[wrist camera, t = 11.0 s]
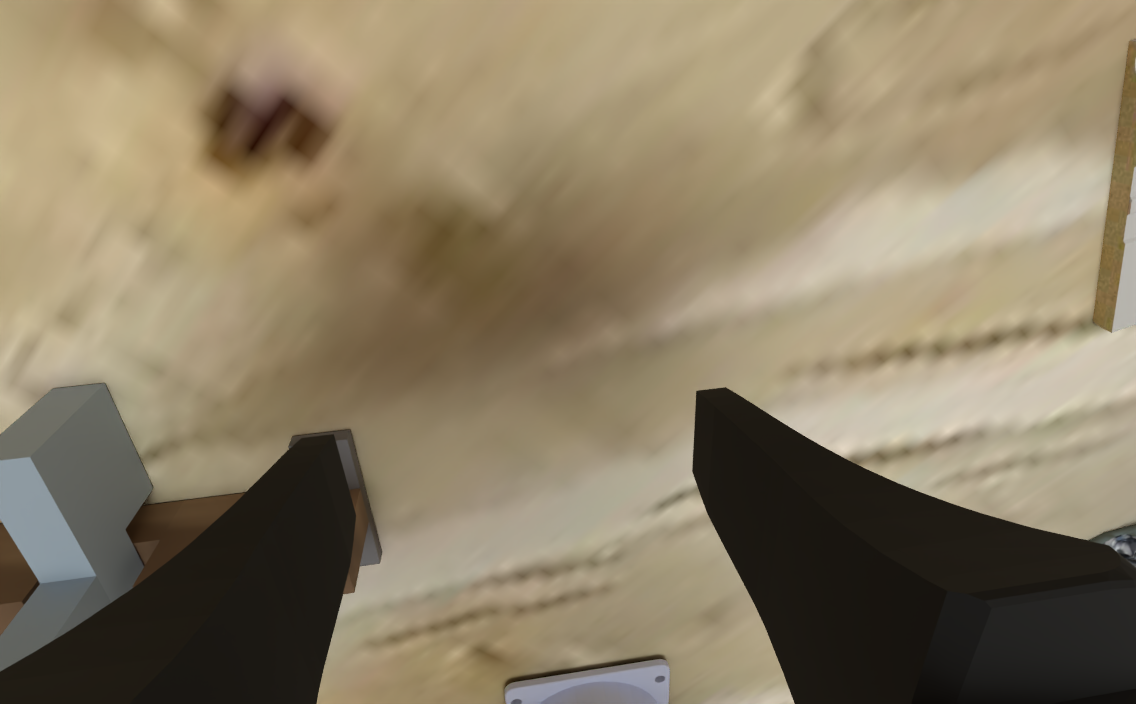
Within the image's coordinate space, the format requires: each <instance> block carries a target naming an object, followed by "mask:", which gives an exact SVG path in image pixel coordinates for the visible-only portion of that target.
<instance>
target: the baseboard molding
mask: <svg viewBox="0 0 1136 704" xmlns="http://www.w3.org/2000/svg"><path fill="white" fill-rule="evenodd" d="M1093 321H1094V322H1095V323H1096V324H1097V325H1098V326H1100V327H1101V328H1103V329H1105V330H1107V331H1109V332H1111V333H1112V332H1115V331H1118V330H1121V329H1124V328H1127V327H1130V326H1134V325H1136V39H1134V40H1131V41H1129V48H1128V55H1127V63H1126V71H1125V78H1124V86H1123V94H1122V101H1121V109H1120V117H1119V124H1118V132H1117V140H1116V147H1115V155H1114V163H1113V170H1112V178H1111V186H1110V193H1109V201H1108V209H1107V216H1106V224H1105V232H1104V240H1103V247H1102V255H1101V263H1100V270H1099V278H1098V286H1097V293H1096V301H1095V309H1094V316H1093Z"/></svg>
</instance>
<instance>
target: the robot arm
mask: <svg viewBox="0 0 1136 704" xmlns="http://www.w3.org/2000/svg"><path fill="white" fill-rule="evenodd" d="M692 471H693V474H694V477H695V480H696V483H697V486H698V489H699V492H700V495H701V497H702V500H703V503H704V505H705V508H706V511H707V513H708V515H709V517H710V519H711V521H712V523H713V525H714V527H715V529H716V531H717V533H718V535H719V537H720V539H721V541H722V543H723V545H724V547H725V549H726V551H727V553H728V554H729V556H730V558H731V560H732V562H733V564H734V566H735V568H736V570H737V572H738V574H739V575H740V577H741V579H742V581H743V583H744V585H745V587H746V589H747V591H748V593H749V595H750V596H751V598H752V600H753V602H754V604H755V606H756V608H757V610H758V613H759V615H760V617H761V619H762V621H763V623H764V625H765V628H766V630H767V633H768V635H769V638H770V640H771V643H772V646H773V648H774V651H775V653H776V656H777V658H778V661H779V663H780V666H781V668H782V671H783V673H784V676H785V679H786V681H787V684H788V687H789V689H790V692H791V695H792V697H793V700H794V703H795V704H1136V567H1135V566H1134V565H1132V564H1131V563H1130V562H1129V561H1127V560H1126V559H1125V558H1124V557H1123V556H1121V555H1120V554H1119V553H1118V552H1117V551H1115V550H1114V549H1113V548H1112V547H1110V546H1109V545H1105V544H1100V543H1096V542H1092V541H1087V540H1083V539H1078V538H1074V537H1070V536H1065V535H1061V534H1056V533H1052V532H1048V531H1043V530H1039V529H1035V528H1031V527H1027V526H1023V525H1020V524H1016V523H1013V522H1009V521H1006V520H1002V519H999V518H995V517H992V516H988V515H985V514H982V513H978V512H975V511H972V510H969V509H966V508H963V507H960V506H957V505H954V504H951V503H948V502H946V501H943V500H940V499H937V498H935V497H932V496H929V495H926V494H924V493H921V492H918V491H916V490H913V489H911V488H908V487H906V486H903V485H901V484H898V483H896V482H894V481H892V480H889V479H887V478H885V477H883V476H880V475H878V474H876V473H874V472H871V471H869V470H867V469H865V468H863V467H861V466H859V465H857V464H855V463H853V462H851V461H849V460H847V459H845V458H843V457H841V456H839V455H837V454H835V453H834V452H832V451H830V450H828V449H826V448H824V447H822V446H821V445H819V444H817V443H815V442H814V441H812V440H810V439H808V438H807V437H805V436H803V435H802V434H800V433H798V432H797V431H795V430H793V429H792V428H790V427H788V426H787V425H785V424H784V423H782V422H780V421H779V420H777V419H776V418H774V417H772V416H771V415H769V414H768V413H766V412H765V411H763V410H761V409H760V408H758V407H757V406H755V405H754V404H752V403H750V402H749V401H747V400H746V399H744V398H743V397H741V396H739V395H738V394H736V393H734V392H733V391H731V390H729V389H727V388H726V387H725V388H717V389H709V390H700V391H696V411H695V431H694V451H693V470H692ZM355 522H356V513H355V509H354V505H353V502H352V498H351V495H350V491H349V487H348V484H347V480H346V476H345V473H344V469H343V465H342V462H341V458H340V454H339V451H338V447H337V444H336V440H335V436H334V434H330V435H321V436H313V437H305V438H301V439H300V440H299V441H297V442H296V443H295V444H294V445H293V446H292V447H291V448H290V449H289V450H288V451H287V452H286V453H285V454H284V455H283V456H282V457H281V458H280V459H279V460H278V461H277V462H276V463H275V464H274V465H273V466H272V467H271V468H270V469H269V470H268V471H267V472H266V473H265V474H264V475H263V476H262V477H261V478H260V479H259V480H258V481H257V482H256V483H255V484H254V485H253V486H252V487H251V488H250V489H249V490H248V491H247V492H246V493H245V494H244V495H243V496H242V497H241V498H240V499H239V500H238V501H237V502H236V503H235V504H234V505H232V506H231V507H230V508H229V509H228V510H227V511H226V512H225V513H224V514H222V515H221V516H220V517H219V518H218V519H217V520H216V521H215V522H214V523H212V524H211V525H210V526H209V527H208V528H207V529H206V530H205V531H203V532H202V533H201V534H200V535H199V536H198V537H197V538H196V539H195V540H193V541H192V542H191V543H190V544H189V545H188V546H186V547H185V548H184V549H183V550H182V551H180V552H179V553H178V554H177V555H175V556H174V557H173V558H172V559H170V560H169V561H168V562H167V563H165V564H164V565H163V566H161V567H160V568H159V569H157V570H156V571H155V572H154V573H152V574H151V575H150V576H148V577H147V578H146V579H144V580H143V581H142V582H140V583H139V584H138V585H136V586H135V587H133V588H132V589H131V590H129V591H128V592H126V593H125V594H123V595H122V596H120V597H119V598H117V599H116V600H114V601H113V602H111V603H110V604H109V605H107V606H106V607H104V608H103V609H101V610H100V611H98V612H97V613H95V614H94V615H92V616H91V617H89V618H88V619H86V620H85V621H83V622H82V623H80V624H79V625H77V626H76V627H74V628H73V629H71V630H69V631H68V632H66V633H65V634H63V635H61V636H60V637H58V638H56V639H55V640H53V641H51V642H50V643H48V644H46V645H45V646H43V647H42V648H40V649H38V650H37V651H35V652H33V653H31V654H30V655H28V656H26V657H24V658H23V659H21V660H19V661H17V662H16V663H14V664H12V665H11V666H9V667H7V668H5V669H4V670H2V671H0V704H316V703H317V697H318V692H319V687H320V682H321V678H322V673H323V669H324V665H325V661H326V657H327V653H328V650H329V646H330V642H331V638H332V634H333V630H334V627H335V623H336V619H337V615H338V611H339V608H340V604H341V600H342V596H343V592H344V588H345V584H346V580H347V576H348V572H349V568H350V564H351V557H352V549H353V542H354V532H355ZM669 681H670V669H669V665H668V662H667V661H666V660H663V659H656V660H649V661H643V662H637V663H631V664H624V665H618V666H612V667H606V668H599V669H593V670H587V671H581V672H574V673H568V674H562V675H556V676H549V677H543V678H537V679H531V680H524V681H518V682H513V683H510V684H508V685H507V686H506V687H505V701H506V704H669Z"/></svg>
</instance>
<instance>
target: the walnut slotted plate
mask: <svg viewBox="0 0 1136 704" xmlns="http://www.w3.org/2000/svg"><path fill="white" fill-rule="evenodd" d="M330 434H334V436H335V440H336V444H337V447H338V451H339V454H340V458H341V462H342V465H343V469H344V473H345V476H346V480H347V484H348V487H349V491H350V495H351V498H352V502H353V505H354V509H355V513H356V522H355V532H354V542H353V549H352V557H351V564H350V568H349V572H348V576H347V580H346V584H345V588H344V592H343V594H348V593H354V592H355V587H356V582H357V577H358V572H359V567H360V566H366V565H373V564H380V561H381V555H382V551H381V547H380V543H379V539H378V535H377V532H376V528H375V524H374V520H373V516H372V512H371V508H370V505H369V501H368V497H367V493H366V489H365V485H364V481H363V478H362V474H361V470H360V466H359V462H358V458H357V454H356V451H355V447H354V443H353V439H352V435H351V431H350V430H343V431H334V432H326V433H318V434H309V435H301V436H293V437H292V439H291V441H290V444H289V446H288V447H289V449H290V448H291V447H292V446H293V445H294V444H295V443H296V442H297V441H299V440H300V439H301V438H305V437H313V436H321V435H330ZM244 494H245V493H240V494H232V495H224V496H216V497H208V498H200V499H192V500H184V501H176V502H168V503H160V504H152V505H144V506H141V507H140V509H139V510H138V512H137V513H136V514H135V516H134V517H133V519H132V520H131V522H130V523H129V525H128V526H127V528H126V529H125V530H126V532H127V534H128V536H129V538H130V540H131V542H132V544H133V546H134V548H135V550H136V552H137V554H138V556H139V558H140V560H141V561H142V563H143V565H144V568H143V570H142V571H141V573H140V575H139V576H138V578H137V580H136V581H135V583H134V585H133V587H135V586H136V585H138V584H139V583H140V582H142V581H143V580H144V579H146V578H147V577H148V576H150V575H151V574H152V573H154V572H155V571H156V570H157V569H159V568H160V567H161V566H163V565H164V564H165V563H167V562H168V561H169V560H170V559H172V558H173V557H174V556H175V555H177V554H178V553H179V552H180V551H182V550H183V549H184V548H185V547H186V546H188V545H189V544H190V543H191V542H192V541H193V540H195V539H196V538H197V537H198V536H199V535H200V534H201V533H202V532H203V531H205V530H206V529H207V528H208V527H209V526H210V525H211V524H212V523H214V522H215V521H216V520H217V519H218V518H219V517H220V516H221V515H222V514H224V513H225V512H226V511H227V510H228V509H229V508H230V507H231V506H232V505H234V504H235V503H236V502H237V501H238V500H239V499H240V498H241V497H242V496H243V495H244ZM39 585H40V582H39V581H38V579H37V577H36V576H35V574H34V573H33V571H32V569H31V568H30V566H29V565H28V563H27V561H26V560H25V558H24V557H23V555H22V553H21V552H20V550H19V549H18V547H17V545H16V544H15V542H14V541H13V539H12V537H11V536H10V534H9V533H8V531H7V529H6V528H5V526H4V525H3V523H1V524H0V636H1V634H2V633H3V632H4V630H5V629H6V628H7V626H8V625H9V624H10V623H11V621H12V620H13V619H14V617H15V616H16V615H17V613H18V612H19V611H20V610H21V608H22V607H23V606H24V604H25V603H26V602H27V600H28V599H29V598H30V596H31V595H32V594H33V593H34V591H35V590H36V589H37V587H38V586H39Z"/></svg>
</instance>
